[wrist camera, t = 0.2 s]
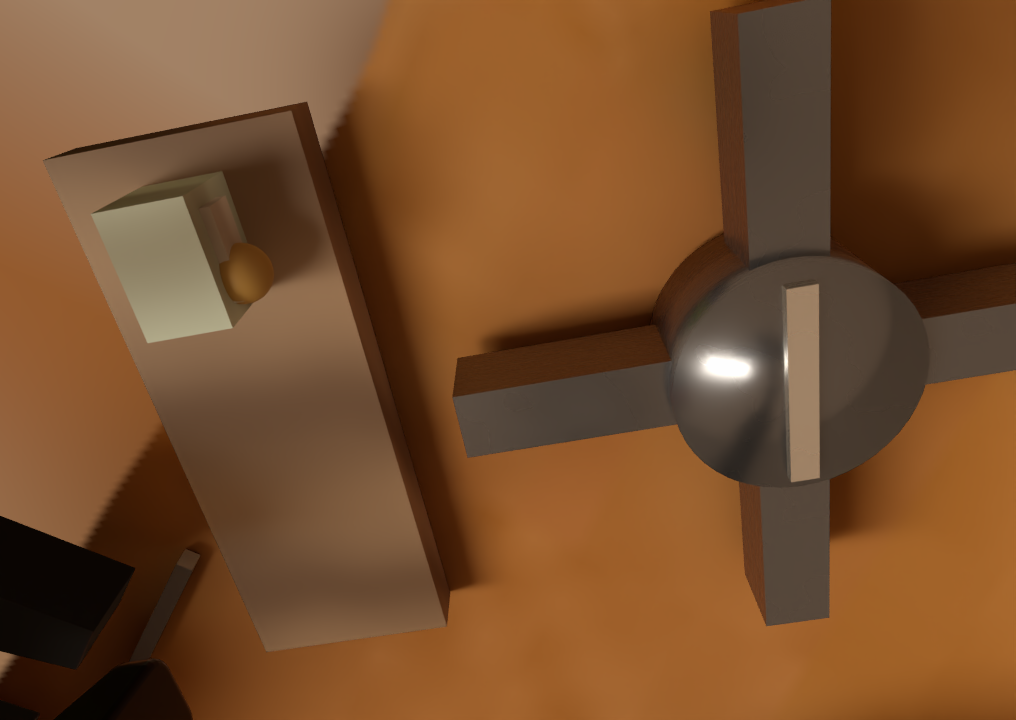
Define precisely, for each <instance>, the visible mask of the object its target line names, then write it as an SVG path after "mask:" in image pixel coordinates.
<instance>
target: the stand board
mask: <svg viewBox="0 0 1016 720" xmlns="http://www.w3.org/2000/svg"><path fill="white" fill-rule="evenodd" d="M43 162H44V164H45V167H46V168H47V171H48V173H49V175H50V177H51V179H52V182H53V184H54V186H55V189H56V191H57V193H58V195H59V197H60V199H61V202H62V204H63V206H64V208H65V211H66V213H67V215H68V217H69V219H70V221H71V224H72V226H73V228H74V230H75V232H76V235H77V237H78V239H79V241H80V243H81V246H82V248H83V250H84V252H85V254H86V257H87V259H88V261H89V263H90V265H91V267H92V270H93V272H94V274H95V276H96V279H97V281H98V283H99V285H100V287H101V290H102V292H103V294H104V296H105V298H106V301H107V303H108V305H109V307H110V309H111V312H112V314H113V316H114V318H115V320H116V322H117V324H118V327H119V329H120V331H121V333H122V336H123V338H124V340H125V342H126V344H127V347H128V349H129V351H130V353H131V355H132V358H133V360H134V362H135V364H136V367H137V369H138V371H139V373H140V375H141V378H142V380H143V382H144V384H145V386H146V389H147V391H148V393H149V395H150V397H151V400H152V402H153V404H154V406H155V408H156V410H157V413H158V415H159V417H160V419H161V422H162V424H163V426H164V428H165V430H166V433H167V435H168V437H169V439H170V441H171V443H172V446H173V448H174V450H175V452H176V454H177V457H178V459H179V461H180V463H181V465H182V468H183V470H184V472H185V474H186V476H187V479H188V481H189V483H190V485H191V487H192V490H193V492H194V494H195V496H196V498H197V501H198V503H199V505H200V507H201V509H202V512H203V514H204V516H205V518H206V520H207V523H208V525H209V527H210V529H211V531H212V534H213V536H214V538H215V540H216V542H217V545H218V547H219V549H220V551H221V553H222V556H223V558H224V560H225V562H226V564H227V567H228V569H229V571H230V573H231V575H232V578H233V580H234V582H235V584H236V586H237V589H238V591H239V593H240V595H241V597H242V600H243V602H244V604H245V606H246V608H247V611H248V613H249V615H250V617H251V619H252V622H253V624H254V626H255V628H256V630H257V632H258V635H259V637H260V639H261V641H262V643H263V646H264V648H265V650H266V652H271V651H278V650H285V649H292V648H299V647H306V646H313V645H320V644H327V643H334V642H341V641H348V640H355V639H362V638H370V637H377V636H384V635H391V634H398V633H405V632H412V631H419V630H426V629H433V628H440V627H447V620H448V609H449V599H450V591H449V587H448V584H447V580H446V577H445V574H444V570H443V567H442V563H441V560H440V556H439V553H438V550H437V546H436V543H435V539H434V536H433V532H432V529H431V525H430V522H429V519H428V515H427V512H426V508H425V505H424V501H423V498H422V495H421V491H420V488H419V484H418V481H417V477H416V474H415V471H414V467H413V464H412V460H411V457H410V453H409V450H408V447H407V443H406V440H405V436H404V433H403V429H402V426H401V423H400V419H399V416H398V412H397V409H396V405H395V402H394V399H393V395H392V392H391V388H390V385H389V381H388V378H387V375H386V371H385V368H384V364H383V361H382V357H381V354H380V351H379V347H378V344H377V340H376V337H375V333H374V330H373V327H372V323H371V320H370V316H369V313H368V309H367V306H366V302H365V299H364V296H363V292H362V289H361V285H360V282H359V278H358V275H357V272H356V268H355V265H354V261H353V258H352V254H351V251H350V248H349V244H348V241H347V237H346V234H345V230H344V227H343V224H342V220H341V217H340V213H339V210H338V206H337V203H336V200H335V196H334V193H333V189H332V186H331V182H330V179H329V176H328V172H327V169H326V165H325V162H324V158H323V155H322V152H321V148H320V145H319V141H318V138H317V134H316V131H315V128H314V124H313V121H312V117H311V114H310V110H309V107H308V104H307V102H304V103H299V104H294V105H289V106H284V107H279V108H274V109H269V110H264V111H259V112H254V113H249V114H244V115H239V116H234V117H229V118H224V119H220V120H214V121H209V122H204V123H200V124H194V125H189V126H184V127H179V128H175V129H170V130H165V131H160V132H155V133H150V134H145V135H140V136H135V137H130V138H125V139H120V140H115V141H110V142H106V143H101V144H95V145H91V146H85V147H81V148H76V149H73V150H70V151H67V152H65V153H62V154H59V155H56V156H54V157H51V158H48V159H45V160H43Z"/></svg>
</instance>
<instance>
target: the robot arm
mask: <svg viewBox="0 0 1016 720" xmlns="http://www.w3.org/2000/svg"><path fill="white" fill-rule="evenodd" d="M54 720H193V718H192V713H191V710H190V708H189V706H188V704H187V702H186V700H185V698H184V696H183V695H182V693H181V691H180V689H179V687H178V685H177V683H176V681H175V679H174V677H173V675H172V673H171V671H170V670H169V668H168V666H167V665H166V664H165V663H164V662H163V661H161V660H160V659H147V660H140V661H133V662H126V663H123V664H120V665H118V666H116V667H115V668H114V669H112V670H111V671H110V672H109V673H108V674H106V675H105V676H104V677H103V678H102V679H101V680H99V681H98V682H97V683H96V684H95V685H94V686H92V687H91V688H90V689H89V690H88V691H87V692H85V693H84V694H83V695H82V696H81V697H79V698H78V699H77V700H76V701H75V702H74V703H72V704H71V705H70V706H69V707H68V708H67V709H65V710H64V711H63V712H62V713H61V714H60V715H58V716H57V717H56V718H55V719H54Z"/></svg>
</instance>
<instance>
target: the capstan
mask: <svg viewBox="0 0 1016 720" xmlns="http://www.w3.org/2000/svg"><path fill="white" fill-rule="evenodd" d="M710 17H711V33H712V50H713V66H714V82H715V98H716V114H717V131H718V147H719V163H720V179H721V195H722V211H723V228H724V234H722V235H720V236H718V237H716V238H715V239H713V240H711V241H709V242H707V243H706V244H704V245H703V246H701V247H700V248H698V249H697V250H696V251H695V252H693V253H692V254H691V255H690V256H689V257H688V258H686V259H685V260H684V261H683V262H682V263H681V265H680V266H679V267H678V268H677V269H676V270H675V271H674V272H673V274H672V275H671V277H670V278H669V279H668V281H667V282H666V284H665V286H664V287H663V289H662V291H661V293H660V295H659V297H658V299H657V302H656V304H655V307H654V310H653V314H652V318H651V323H650V325H649V326H643V327H637V328H632V329H626V330H620V331H614V332H608V333H602V334H596V335H591V336H585V337H579V338H573V339H567V340H561V341H555V342H550V343H544V344H538V345H532V346H526V347H520V348H514V349H509V350H503V351H497V352H491V353H485V354H479V355H473V356H468V357H462V358H458V359H457V367H456V375H455V382H454V390H453V401H454V405H455V409H456V413H457V417H458V421H459V425H460V429H461V433H462V437H463V441H464V445H465V449H466V453H467V457H468V458H469V457H475V456H481V455H488V454H494V453H500V452H506V451H513V450H519V449H525V448H531V447H538V446H544V445H550V444H556V443H563V442H569V441H575V440H581V439H588V438H594V437H600V436H606V435H613V434H619V433H625V432H631V431H638V430H644V429H650V428H656V427H663V426H669V425H675V424H677V425H678V427H679V430H680V432H681V434H682V435H683V437H684V439H685V441H686V443H687V444H688V445H689V447H690V448H691V449H692V451H693V452H694V453H695V454H696V455H697V456H698V457H699V458H700V459H701V460H702V461H703V462H704V463H705V464H707V465H708V466H710V467H711V468H712V469H714V470H715V471H717V472H719V473H721V474H723V475H724V476H726V477H728V478H731V479H734V480H736V481H739V487H740V503H741V519H742V535H743V551H744V568H745V575H746V578H747V580H748V582H749V585H750V587H751V590H752V592H753V595H754V597H755V599H756V602H757V604H758V607H759V609H760V612H761V614H762V616H763V619H764V621H765V624H766V626H771V625H779V624H786V623H793V622H800V621H808V620H815V619H822V618H829V529H830V479H831V478H834V477H836V476H838V475H841V474H843V473H846V472H848V471H850V470H851V469H853V468H855V467H857V466H859V465H861V464H862V463H864V462H865V461H867V460H868V459H870V458H871V457H873V456H874V455H876V454H877V453H878V452H879V451H880V450H881V449H883V448H884V447H885V446H886V445H887V444H888V443H889V442H890V441H891V440H892V439H893V438H894V437H895V436H896V435H897V434H898V433H899V432H900V431H901V429H902V428H903V427H904V425H905V424H906V423H907V421H908V420H909V419H910V417H911V415H912V414H913V412H914V410H915V409H916V407H917V405H918V403H919V400H920V398H921V396H922V394H923V391H924V388H925V384H932V383H938V382H944V381H950V380H957V379H963V378H969V377H975V376H982V375H988V374H994V373H1000V372H1007V371H1013V370H1016V263H1012V264H1007V265H1001V266H995V267H989V268H983V269H977V270H971V271H966V272H960V273H954V274H948V275H942V276H936V277H930V278H925V279H919V280H913V281H907V282H901V283H895V284H893V283H891V282H890V281H889V280H887V279H886V278H885V277H883V276H882V275H881V274H879V273H878V272H877V271H875V270H874V269H873V268H871V267H870V266H869V265H867V264H866V263H865V262H863V261H862V260H861V259H859V258H858V257H857V256H855V255H854V254H853V253H851V252H850V251H849V250H847V249H846V248H845V247H843V246H842V245H841V244H839V243H838V242H837V241H835V240H833V239H832V238H830V176H831V0H764V1H759V2H754V3H749V4H744V5H739V6H734V7H729V8H724V9H719V10H714V11H710Z"/></svg>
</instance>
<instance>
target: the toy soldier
mask: <svg viewBox="0 0 1016 720" xmlns="http://www.w3.org/2000/svg"><path fill="white" fill-rule="evenodd" d="M199 557H200V555H199V554H197V553H194V552H192V551H189V550H187V549H185V550H184V552H183V554H182V555H181V557H180V559H179V560H178V562H177V564H176V566H175V568H174V570H173V572H172V574H171V576H170V578H169V580H168V582H167V584H166V586H165V588H164V590H163V593H162V595H161V597H160V599H159V601H158V603H157V605H156V607H155V609H154V611H153V613H152V615H151V617H150V619H149V621H148V624H147V626H146V628H145V630H144V632H143V634H142V636H141V638H140V640H139V642H138V644H137V646H136V648H135V650H134V652H133V655H132V657H131V659H130V661H129V662H133V661H140V660H147V659H149V658H150V656H151V654H152V652H153V650H154V648H155V646H156V644H157V642H158V640H159V638H160V636H161V634H162V632H163V630H164V628H165V626H166V624H167V622H168V620H169V618H170V616H171V614H172V612H173V610H174V608H175V606H176V604H177V602H178V600H179V598H180V595H181V593H182V591H183V589H184V587H185V585H186V583H187V581H188V579H189V577H190V575H191V573H192V571H193V569H194V567H195V565H196V563H197V561H198V559H199ZM134 570H135V568H134V567H131V566H128V565H126V564H123V563H121V562H118V561H115V560H113V559H110V558H108V557H105V556H103V555H100V554H97V553H95V552H92V551H90V550H87V549H85V548H82V547H79V546H77V545H74V544H72V543H69V542H66V541H64V540H61V539H58V538H56V537H53V536H51V535H48V534H46V533H43V532H41V531H38V530H35V529H33V528H30V527H28V526H25V525H23V524H20V523H18V522H15V521H12V520H10V519H7V518H4V517H2V516H0V651H2V652H6V653H10V654H14V655H18V656H22V657H26V658H31V659H35V660H39V661H43V662H47V663H51V664H55V665H59V666H63V667H67V668H71V669H75V670H77V668H78V666H79V665H80V663H81V662H82V660H83V659H84V657H85V656H86V654H87V653H88V651H89V649H90V648H91V646H92V645H93V643H94V642H95V640H96V639H97V637H98V636H99V634H100V632H101V631H102V629H103V628H104V626H105V625H106V623H107V622H108V620H109V618H110V617H111V615H112V614H113V612H114V611H115V609H116V608H117V606H118V605H119V603H120V601H121V598H122V596H123V594H124V592H125V590H126V588H127V585H128V583H129V581H130V579H131V577H132V575H133V572H134ZM39 714H40V713H38V712H35V711H32V710H29V709H26V708H23V707H20V706H17V705H14V704H11V703H8V702H5V701H2V700H0V720H37V719H38V717H39Z"/></svg>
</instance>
